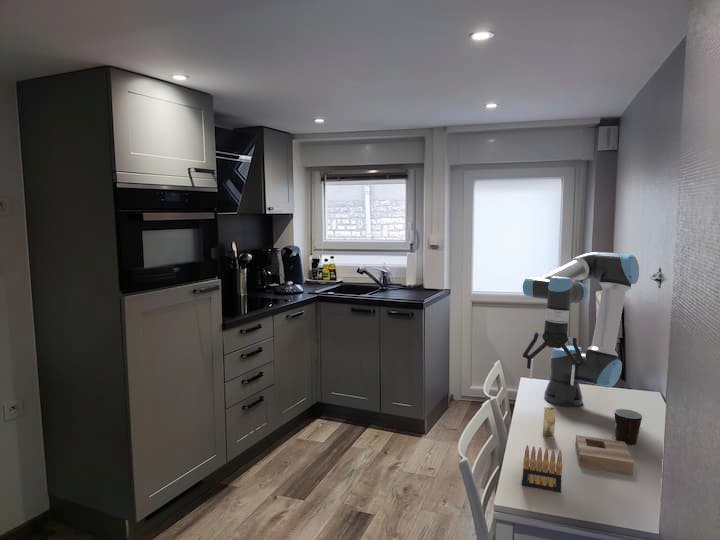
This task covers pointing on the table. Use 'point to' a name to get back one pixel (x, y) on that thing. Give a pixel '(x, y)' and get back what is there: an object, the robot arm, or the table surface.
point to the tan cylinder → (549, 421)
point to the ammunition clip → (542, 470)
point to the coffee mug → (627, 425)
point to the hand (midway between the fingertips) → (550, 381)
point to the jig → (604, 454)
